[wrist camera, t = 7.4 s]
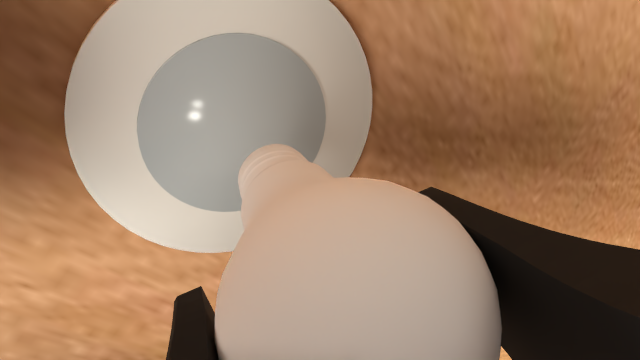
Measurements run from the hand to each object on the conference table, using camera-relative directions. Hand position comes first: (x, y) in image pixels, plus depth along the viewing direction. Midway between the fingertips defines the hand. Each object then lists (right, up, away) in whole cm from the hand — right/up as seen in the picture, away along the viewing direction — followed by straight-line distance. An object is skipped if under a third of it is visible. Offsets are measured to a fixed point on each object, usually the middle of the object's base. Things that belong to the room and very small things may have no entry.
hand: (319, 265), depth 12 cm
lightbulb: (-2, +3, +5) cm, 6 cm away
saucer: (-4, +5, +8) cm, 10 cm away
